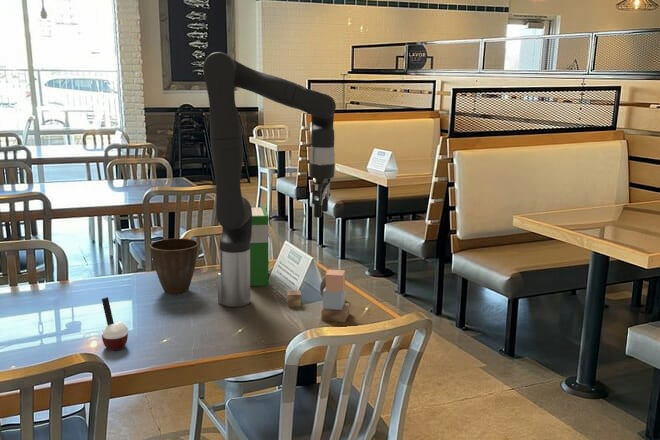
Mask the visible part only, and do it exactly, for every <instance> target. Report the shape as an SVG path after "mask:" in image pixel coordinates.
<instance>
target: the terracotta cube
mask: <svg viewBox="0 0 660 440" xmlns="http://www.w3.org/2000/svg"><path fill="white" fill-rule="evenodd" d="M325 276H326V291H331V292H343V290H344V287H346V284H345V283H346V270H345V269H343V270H342V269H327V271H326V273H325Z"/></svg>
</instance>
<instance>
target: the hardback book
mask: <svg viewBox="0 0 660 440" xmlns="http://www.w3.org/2000/svg"><path fill="white" fill-rule="evenodd" d="M251 209H252V236H251V241H250V287H253V286H254V287H257V286H258V287H259V286H269V214H268V211H267V209H266V207H265V205H263V204H261V205H260V207H251Z"/></svg>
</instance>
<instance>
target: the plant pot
mask: <svg viewBox="0 0 660 440" xmlns="http://www.w3.org/2000/svg"><path fill="white" fill-rule="evenodd" d="M149 248H150V252H151V257H152V262H153V265H154V269H155V272H156V274H157V278H158V280H159V283H160V285H161V287H162V289H163V292H164V294H166V295H169V296H179V295H184V294H186V293H188V292H189V289H190V287H191V284H192V279H193V276H194V272H195V267H196V264H197V257H198V249H199V242H198V241H197V240H195V239H190V238H167V239H166V238H165V239H161V240H156V241H153V242H151V243H150V245H149Z"/></svg>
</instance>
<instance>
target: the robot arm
mask: <svg viewBox="0 0 660 440" xmlns="http://www.w3.org/2000/svg"><path fill="white" fill-rule="evenodd" d="M202 72H203V76H204V82H205V85H206V90H207V96H208V102H209V138H210V149H211V155H212V163H213V164H212V165H213V172H214V173H213V174H214V179H215V187H216V188H215V189H216V190H215V191H216V192H215V193H216V194H215V195H216V196H215V216H216V219H217V221H218V224H219V226H221V229H222V231H221V236H220V238H219V273H218V274H217V304H219V305H220V304H221V305H222V306H226V307H230V308H231V307H233V308H237V307H238V308H239V307H243V306H244V307H245V306H247V305H249V304H250V303H251V286H250V241H251V236H252V209H251V208H252V206H251V203H250V202H249V200H248V199H246V197H244V196H242V189H241V186H242V185H241V177H242V176H241V175H242V170H243V162H244V142H243V132H242V126H241V122H240V117H239V113H238V110H237V105H236V98H235V96H236V95H235V88H239V89H242V90H246V91H249V92H252V93H255V94H256V95H259V96H261V97H264V98H266V99H268V100H270V101H273V102H275V103H277V104H280V105H283V106H286V107H289V108H292V109H296V110H299V111H302V112H304V113H307V114H309V115H310V117H311V120H310V121H311V132H310V151H309V173H308V175H309V177H310V178H312V179H315V183H313V184H312V186H311V187H312V189H311V204H312V205H313V206H314V207H313V217H314V218H319V219H320V218H322V216H323V212H324V213H328V211H329V199H330V196H331V180H332V179H333V178H334V177H335V168H336V167H335V165H336V164H335V159H336V158H335V157H336V153H335V129H334V119H335V118H334V117H335V116H334V115H335V113H336V109H337V105H336V101H335V99H334V98H333V96H330V95H329V94H326V93H322V92H319V91H316V90H313V89H310V88H306V87H305V86H303V85H302V84H298V83H295V82H293V81H291V80H287V79H284V78H282V77H278V76H275V75H272V74H268V73H264V72H260V71H258V70H255V69H254V68H253V69H252V68H250V67H249V66H246V65H244V64H242V63H241V62H239V61H237V60H235V59H234V58H232V56H231V55H229V54H228V53H225V52H221V51H216V52H212V53H210V54H209V55H207V56H206V58H205V59H204V61H203V65H202Z"/></svg>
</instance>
